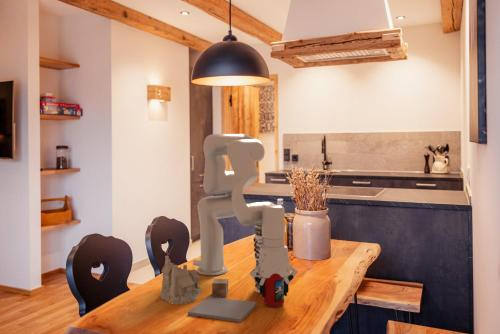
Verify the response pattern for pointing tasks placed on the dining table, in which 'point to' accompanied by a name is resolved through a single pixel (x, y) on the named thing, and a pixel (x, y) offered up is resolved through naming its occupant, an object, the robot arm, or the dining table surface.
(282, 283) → the beverage can
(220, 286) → the walnut block
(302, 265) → the dining table surface
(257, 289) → the decorative candle
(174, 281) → the ceramic cottage
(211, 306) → the slate board
